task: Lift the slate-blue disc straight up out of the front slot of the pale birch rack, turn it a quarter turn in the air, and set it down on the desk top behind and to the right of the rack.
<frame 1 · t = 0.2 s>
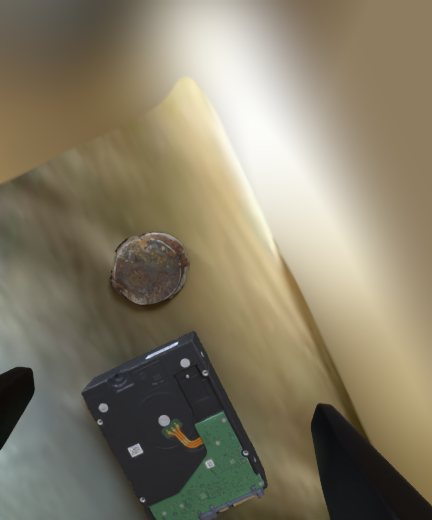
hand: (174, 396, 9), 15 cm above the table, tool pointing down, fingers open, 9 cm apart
disk drive: (180, 420, 25), on the table
decorative disc: (150, 267, 24), on the table
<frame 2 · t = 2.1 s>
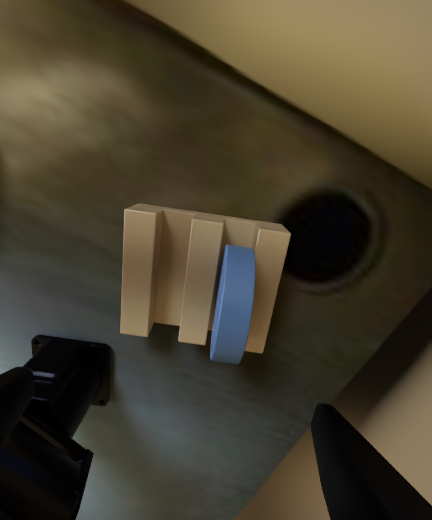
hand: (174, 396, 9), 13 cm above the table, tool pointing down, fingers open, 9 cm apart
rack: (202, 271, 21), on the table
blue disc: (229, 280, 20), point 1 cm above the table, touching rack
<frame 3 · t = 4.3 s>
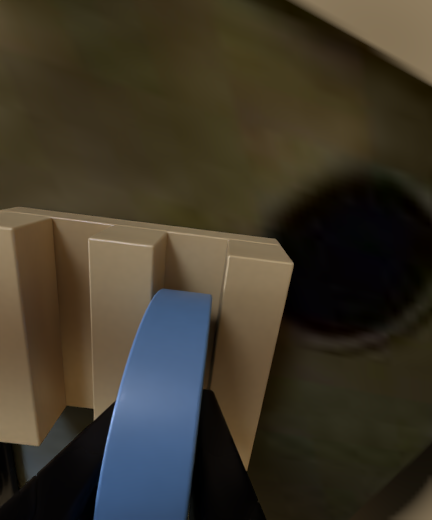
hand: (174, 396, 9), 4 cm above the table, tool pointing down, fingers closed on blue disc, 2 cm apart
rack: (144, 320, 12), on the table
blue disc: (187, 339, 11), point 1 cm above the table, touching gripper, rack
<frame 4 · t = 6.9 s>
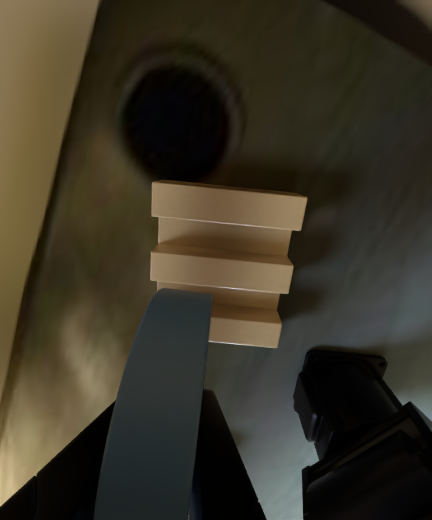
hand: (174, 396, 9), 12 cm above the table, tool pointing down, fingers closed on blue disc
rack: (221, 258, 20), on the table
blue disc: (187, 338, 11), point 9 cm above the table, touching gripper
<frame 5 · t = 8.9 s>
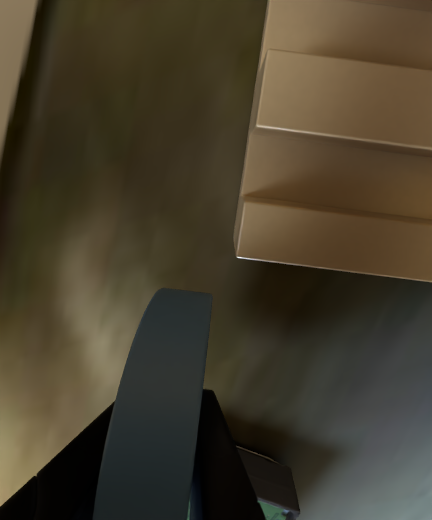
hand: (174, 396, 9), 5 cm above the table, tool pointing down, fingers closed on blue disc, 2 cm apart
disk drive: (171, 502, 19), on the table
rack: (364, 124, 11), on the table
blue disc: (187, 338, 11), point 2 cm above the table, touching gripper
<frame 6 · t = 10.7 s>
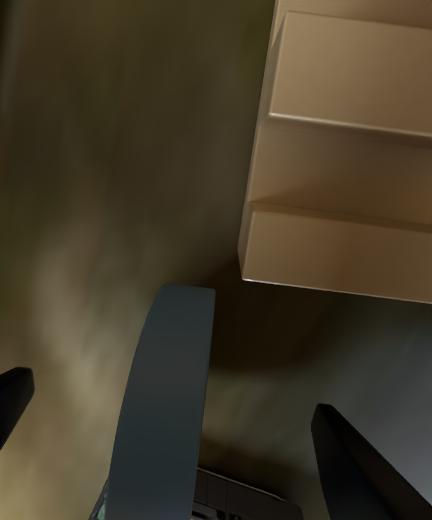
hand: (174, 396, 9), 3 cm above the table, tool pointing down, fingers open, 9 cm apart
rack: (397, 115, 9), on the table
blue disc: (190, 333, 12), on the table
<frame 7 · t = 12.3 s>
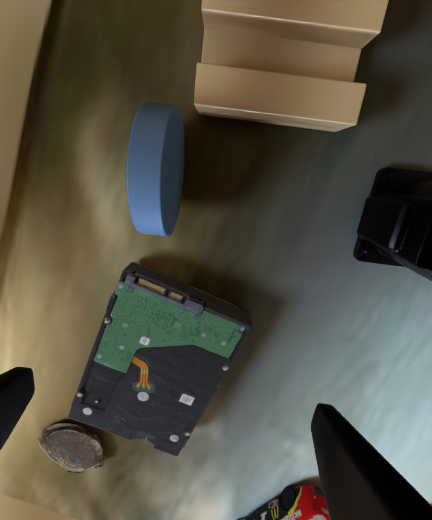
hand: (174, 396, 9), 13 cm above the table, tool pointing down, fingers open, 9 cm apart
disk drive: (160, 353, 24), on the table
rack: (283, 26, 16), on the table
race car: (277, 510, 30), on the table
decorative disc: (75, 442, 28), on the table
blue disc: (172, 175, 19), on the table
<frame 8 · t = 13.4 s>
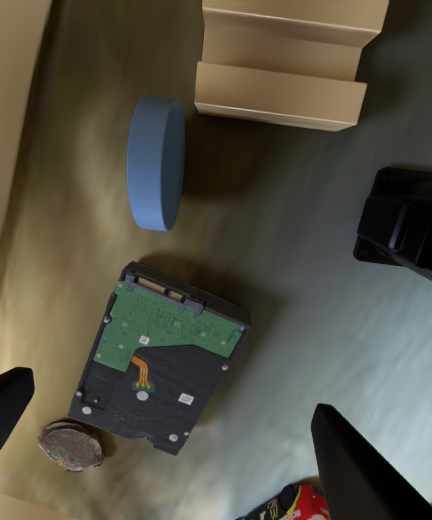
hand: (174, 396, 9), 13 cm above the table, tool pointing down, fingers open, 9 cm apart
disk drive: (160, 352, 24), on the table
rack: (283, 25, 16), on the table
race car: (276, 510, 30), on the table
decorative disc: (74, 442, 28), on the table
blue disc: (172, 174, 19), on the table, tilted 7°
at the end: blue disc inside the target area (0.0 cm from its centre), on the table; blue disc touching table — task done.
